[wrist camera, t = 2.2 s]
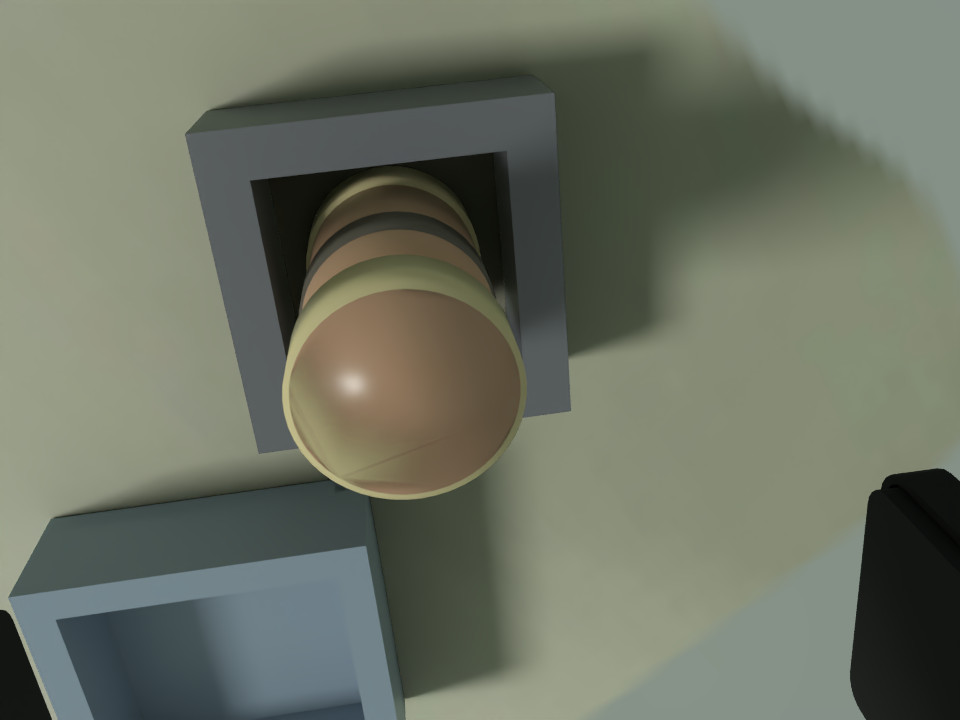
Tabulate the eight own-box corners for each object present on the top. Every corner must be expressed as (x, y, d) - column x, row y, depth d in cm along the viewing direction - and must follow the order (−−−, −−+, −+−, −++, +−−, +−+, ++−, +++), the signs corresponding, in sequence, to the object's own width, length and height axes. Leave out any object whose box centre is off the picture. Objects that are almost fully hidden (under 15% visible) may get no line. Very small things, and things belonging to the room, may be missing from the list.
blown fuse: (296, 176, 20) (260, 300, 13) (466, 156, 20) (517, 267, 13) (324, 332, 21) (305, 515, 15) (481, 312, 22) (534, 482, 15)
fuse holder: (206, 111, 19) (184, 134, 17) (532, 74, 19) (554, 92, 17) (269, 401, 22) (259, 453, 20) (550, 363, 22) (570, 410, 20)
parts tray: (50, 519, 23) (8, 597, 20) (365, 475, 23) (366, 545, 20) (132, 743, 26) (105, 835, 23) (404, 700, 27) (409, 786, 24)
